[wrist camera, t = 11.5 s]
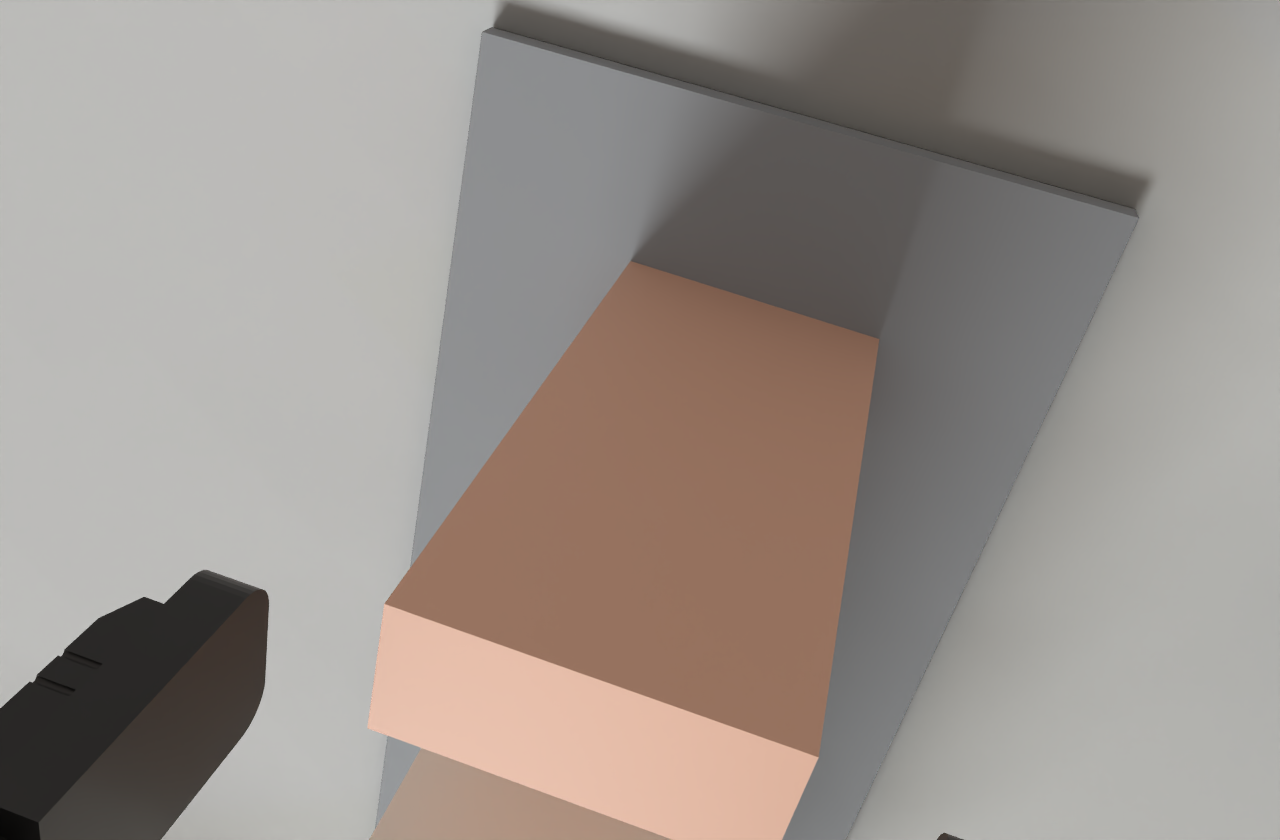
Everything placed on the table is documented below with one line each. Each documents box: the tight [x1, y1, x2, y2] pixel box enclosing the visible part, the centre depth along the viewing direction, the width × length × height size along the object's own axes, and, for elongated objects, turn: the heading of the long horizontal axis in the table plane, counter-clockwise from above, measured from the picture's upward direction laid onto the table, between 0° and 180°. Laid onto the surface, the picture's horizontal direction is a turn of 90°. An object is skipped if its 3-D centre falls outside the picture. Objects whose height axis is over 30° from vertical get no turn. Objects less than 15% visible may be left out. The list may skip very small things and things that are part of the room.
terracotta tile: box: [368, 261, 879, 840], centre depth 17 cm, size 2×5×11 cm, turn 77°
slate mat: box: [375, 27, 1139, 840], centre depth 27 cm, size 26×12×1 cm, turn 167°
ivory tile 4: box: [369, 748, 672, 840], centre depth 20 cm, size 2×5×11 cm, turn 77°
